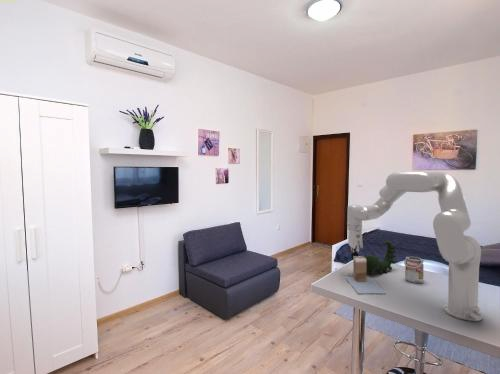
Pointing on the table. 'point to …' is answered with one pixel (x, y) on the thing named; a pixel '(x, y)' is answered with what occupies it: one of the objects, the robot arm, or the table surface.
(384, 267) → the toy figurine
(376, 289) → the rubber mat
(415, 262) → the beverage can
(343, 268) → the table surface
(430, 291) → the table surface
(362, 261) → the brown tall block
